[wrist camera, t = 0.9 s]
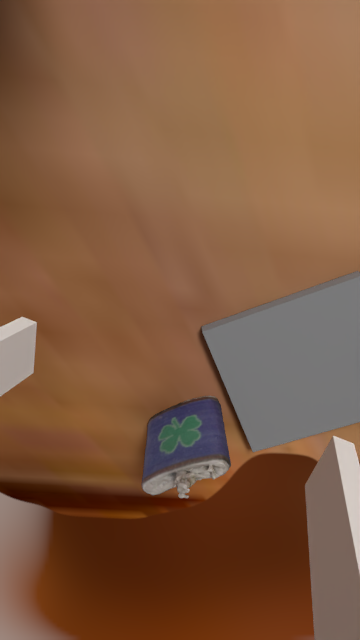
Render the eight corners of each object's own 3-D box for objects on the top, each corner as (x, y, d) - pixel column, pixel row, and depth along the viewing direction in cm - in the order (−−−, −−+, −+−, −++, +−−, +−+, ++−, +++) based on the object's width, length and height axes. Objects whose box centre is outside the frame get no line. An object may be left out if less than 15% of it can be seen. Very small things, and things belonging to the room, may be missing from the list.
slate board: (201, 326, 35) (202, 331, 34) (357, 271, 32) (363, 274, 31) (251, 444, 42) (252, 452, 41) (381, 407, 39) (387, 414, 38)
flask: (153, 432, 41) (146, 516, 31) (142, 415, 40) (131, 497, 30) (223, 408, 40) (238, 488, 30) (214, 389, 38) (226, 467, 29)
